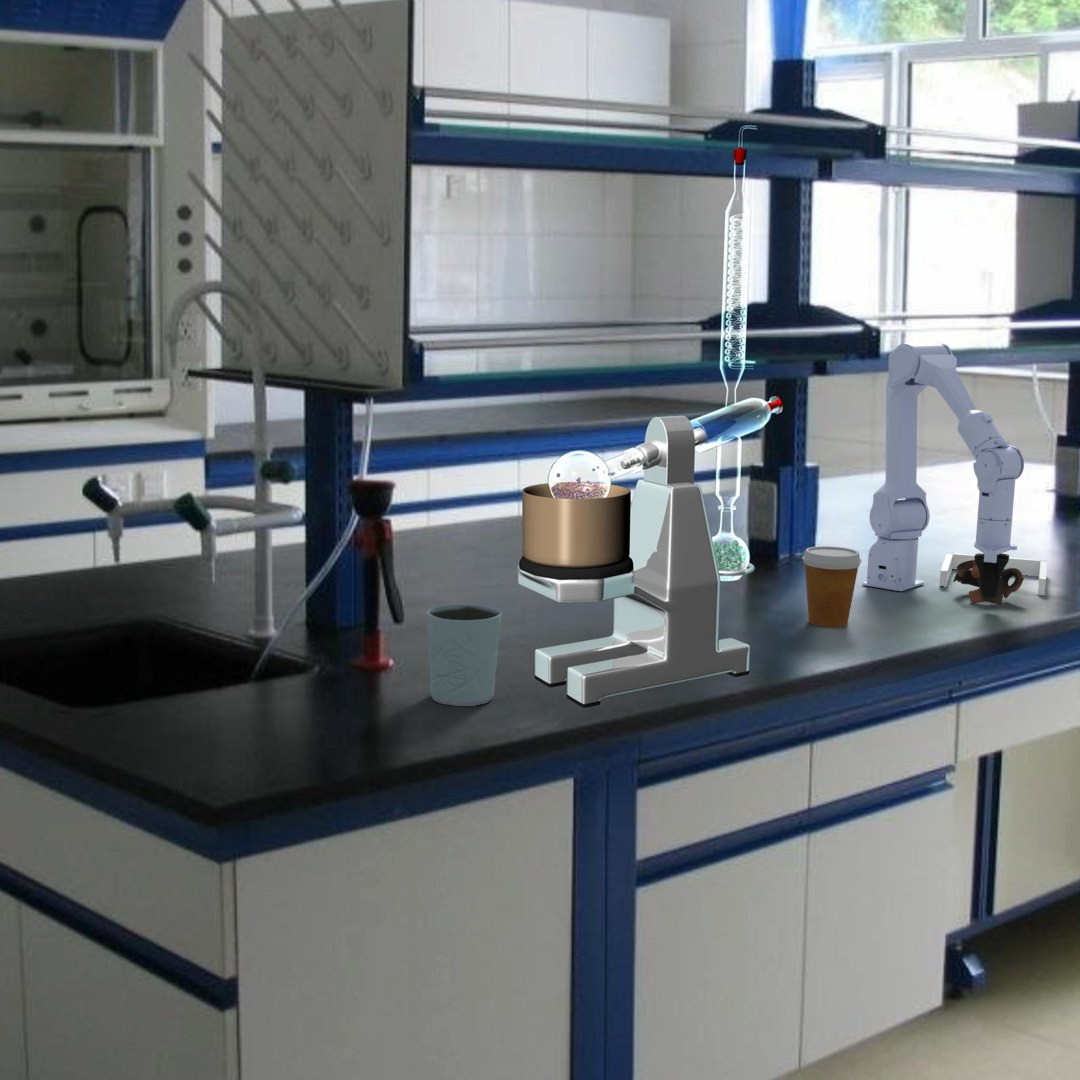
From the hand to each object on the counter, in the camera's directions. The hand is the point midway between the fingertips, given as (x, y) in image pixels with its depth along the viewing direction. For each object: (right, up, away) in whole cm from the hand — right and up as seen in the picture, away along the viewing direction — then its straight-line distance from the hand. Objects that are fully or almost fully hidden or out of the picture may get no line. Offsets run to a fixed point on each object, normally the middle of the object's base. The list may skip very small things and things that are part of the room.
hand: (988, 596), depth 304 cm
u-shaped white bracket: (+7, +2, +25) cm, 26 cm away
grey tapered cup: (-87, -12, -62) cm, 108 cm away
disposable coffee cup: (-29, -4, -12) cm, 32 cm away
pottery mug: (+2, -1, +10) cm, 10 cm away
